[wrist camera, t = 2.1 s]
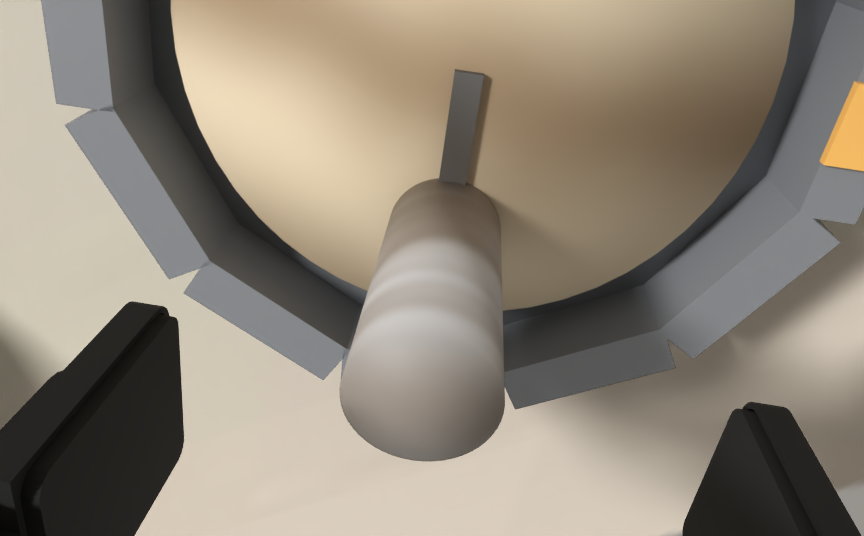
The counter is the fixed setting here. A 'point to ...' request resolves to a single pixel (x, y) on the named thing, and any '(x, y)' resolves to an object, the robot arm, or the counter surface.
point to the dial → (473, 163)
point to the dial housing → (522, 328)
